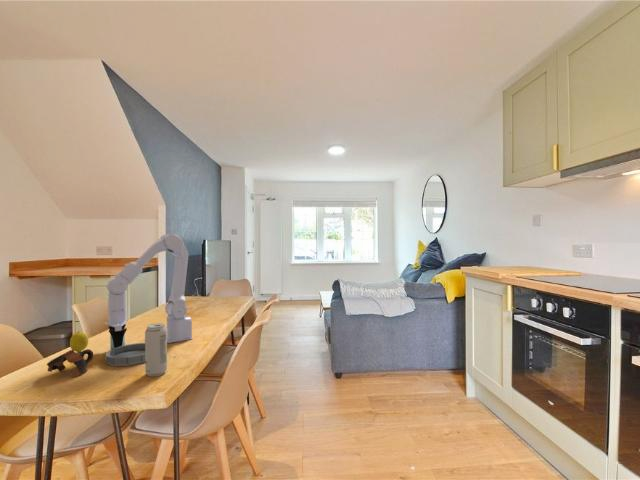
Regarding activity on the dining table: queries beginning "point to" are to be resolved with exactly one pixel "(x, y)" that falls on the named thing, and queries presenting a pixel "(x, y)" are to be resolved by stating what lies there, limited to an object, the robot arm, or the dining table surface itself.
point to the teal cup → (113, 344)
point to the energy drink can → (155, 350)
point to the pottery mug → (72, 358)
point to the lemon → (79, 341)
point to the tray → (126, 355)
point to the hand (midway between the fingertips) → (117, 345)
